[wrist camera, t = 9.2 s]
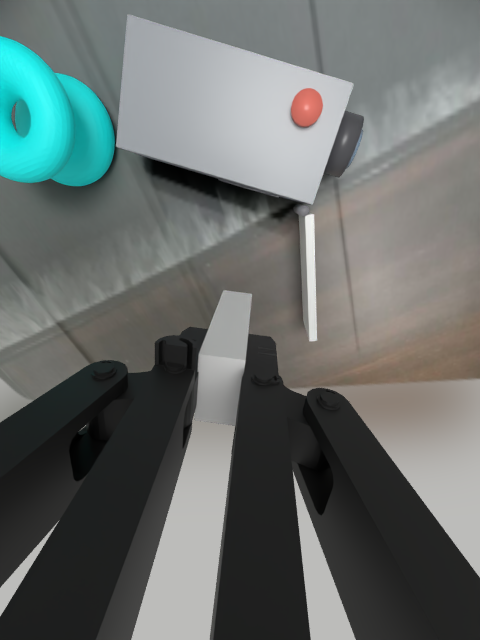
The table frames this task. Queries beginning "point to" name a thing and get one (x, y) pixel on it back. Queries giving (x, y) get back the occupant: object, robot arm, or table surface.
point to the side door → (307, 269)
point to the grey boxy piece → (233, 113)
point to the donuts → (49, 123)
